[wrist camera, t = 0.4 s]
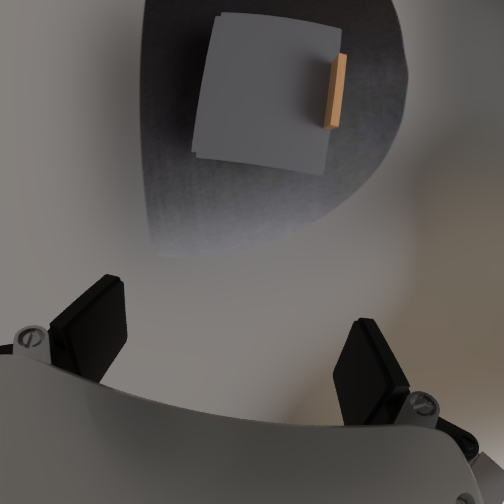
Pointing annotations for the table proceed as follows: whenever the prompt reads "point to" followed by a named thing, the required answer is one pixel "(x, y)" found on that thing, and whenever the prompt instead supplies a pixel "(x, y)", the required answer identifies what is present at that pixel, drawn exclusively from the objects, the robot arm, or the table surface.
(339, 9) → the table surface
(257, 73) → the lid
